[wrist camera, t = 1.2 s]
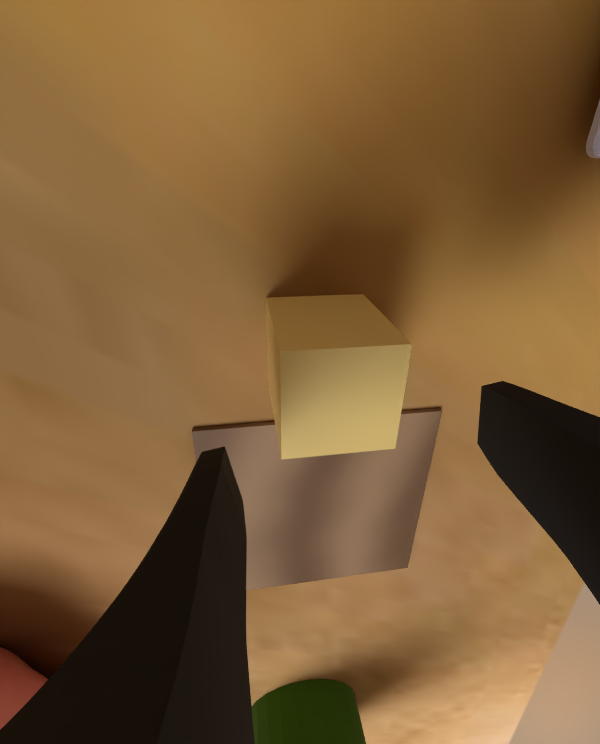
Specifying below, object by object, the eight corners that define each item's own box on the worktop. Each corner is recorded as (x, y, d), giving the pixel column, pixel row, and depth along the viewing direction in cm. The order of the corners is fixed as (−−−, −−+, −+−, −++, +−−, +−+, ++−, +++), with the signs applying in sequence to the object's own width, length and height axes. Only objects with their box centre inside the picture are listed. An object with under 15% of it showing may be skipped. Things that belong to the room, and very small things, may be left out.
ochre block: (356, 287, 17) (412, 344, 12) (349, 368, 19) (395, 448, 14) (263, 290, 17) (280, 351, 11) (266, 374, 18) (281, 459, 13)
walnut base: (431, 398, 21) (442, 410, 20) (400, 551, 26) (407, 567, 25) (194, 416, 19) (192, 431, 18) (216, 576, 25) (215, 594, 24)
